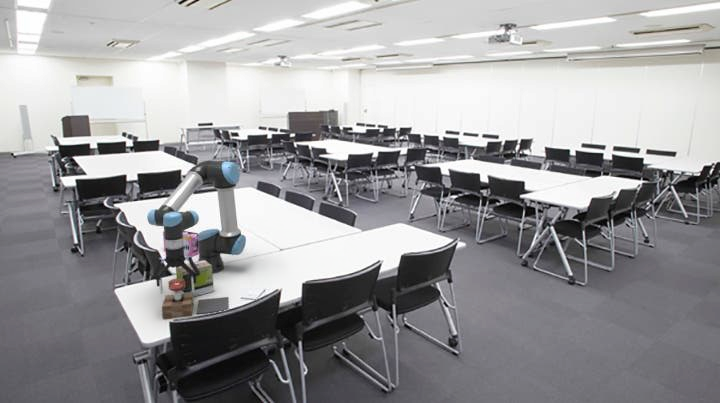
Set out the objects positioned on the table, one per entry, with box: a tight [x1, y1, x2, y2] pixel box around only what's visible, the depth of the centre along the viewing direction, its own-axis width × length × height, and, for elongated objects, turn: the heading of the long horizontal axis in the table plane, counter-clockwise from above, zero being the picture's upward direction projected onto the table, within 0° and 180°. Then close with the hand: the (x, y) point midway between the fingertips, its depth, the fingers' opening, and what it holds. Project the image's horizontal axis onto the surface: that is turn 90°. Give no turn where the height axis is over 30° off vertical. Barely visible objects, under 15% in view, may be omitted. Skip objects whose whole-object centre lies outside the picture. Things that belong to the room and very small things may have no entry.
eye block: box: [161, 293, 195, 320], centre depth 195 cm, size 12×12×6 cm
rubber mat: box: [195, 296, 230, 316], centre depth 202 cm, size 14×14×1 cm
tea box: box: [175, 260, 215, 298], centre depth 215 cm, size 15×10×15 cm
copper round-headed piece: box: [168, 277, 185, 302], centre depth 194 cm, size 7×7×15 cm
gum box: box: [162, 230, 199, 257], centre depth 270 cm, size 24×8×14 cm, turn 67°
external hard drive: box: [240, 286, 266, 301], centre depth 216 cm, size 2×8×12 cm
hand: (177, 291), depth 194 cm, fingers open, 13 cm apart
